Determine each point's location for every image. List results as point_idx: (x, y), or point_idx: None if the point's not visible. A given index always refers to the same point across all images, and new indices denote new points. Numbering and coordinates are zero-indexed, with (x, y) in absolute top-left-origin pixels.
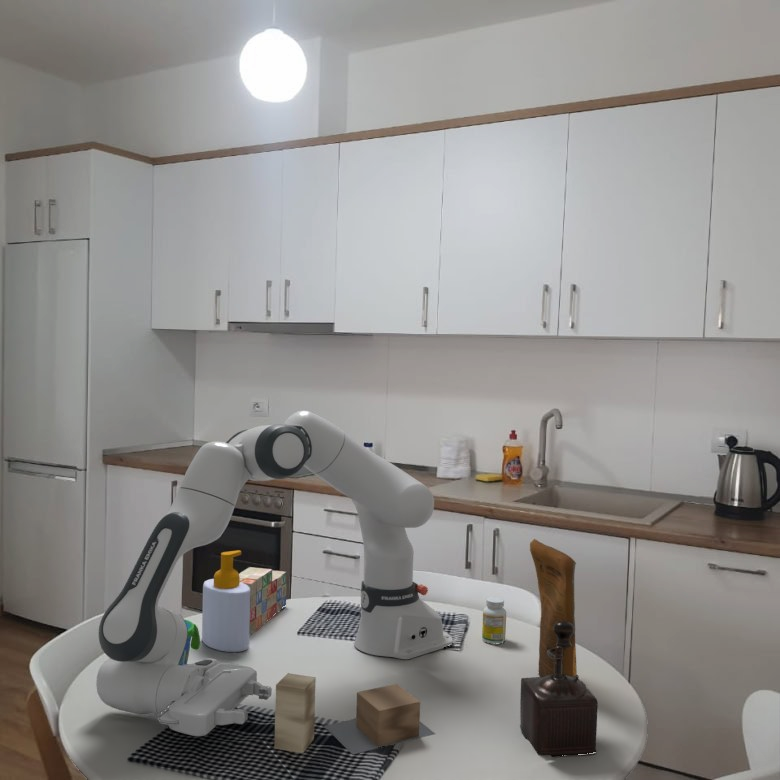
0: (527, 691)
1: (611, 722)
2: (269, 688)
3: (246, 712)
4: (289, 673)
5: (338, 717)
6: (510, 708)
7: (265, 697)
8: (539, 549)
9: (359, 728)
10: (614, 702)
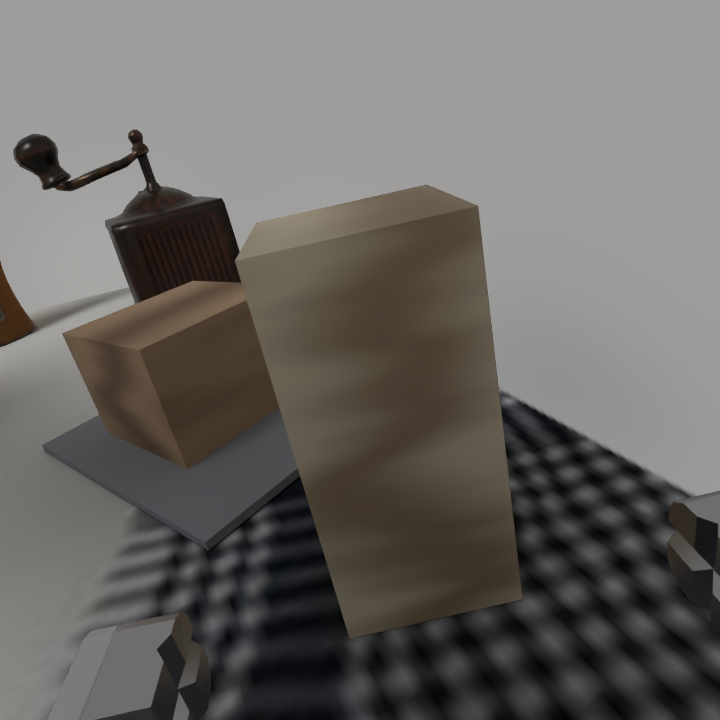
0: (161, 224)
1: (122, 297)
2: (120, 626)
3: (695, 498)
4: (239, 256)
5: (94, 558)
6: (60, 353)
7: (203, 681)
8: None
9: (210, 451)
10: (51, 312)
